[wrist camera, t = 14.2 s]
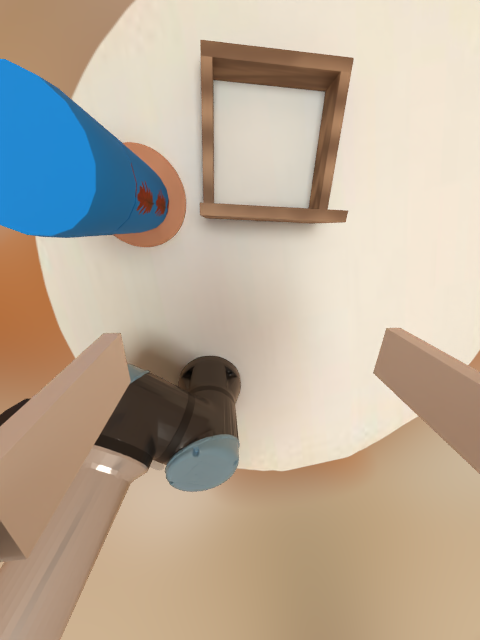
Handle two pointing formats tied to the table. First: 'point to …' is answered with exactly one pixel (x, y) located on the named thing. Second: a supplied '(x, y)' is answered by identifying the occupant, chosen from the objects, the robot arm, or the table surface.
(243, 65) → the frame
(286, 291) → the table surface
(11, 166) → the thermos
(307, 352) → the table surface
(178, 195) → the terracotta disc
